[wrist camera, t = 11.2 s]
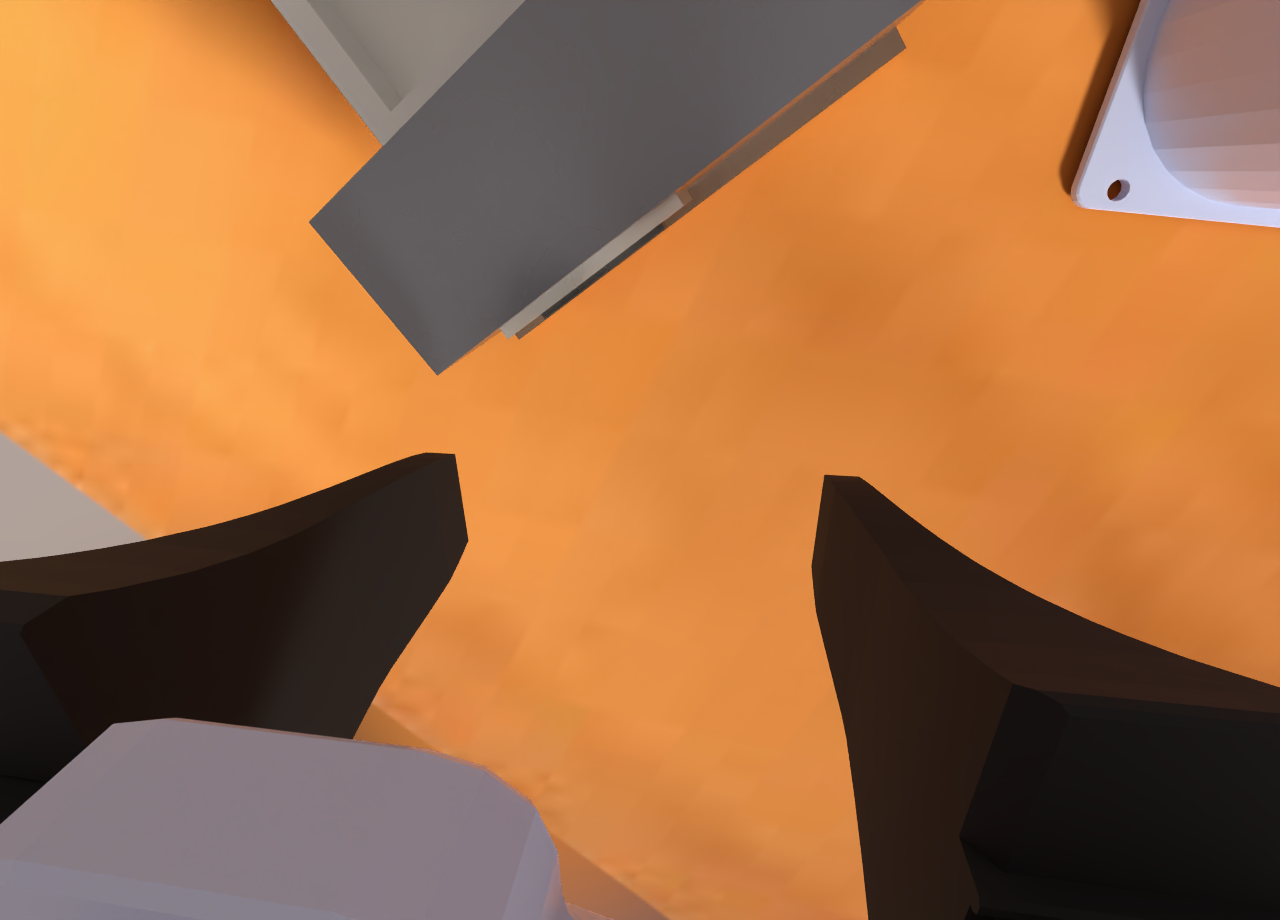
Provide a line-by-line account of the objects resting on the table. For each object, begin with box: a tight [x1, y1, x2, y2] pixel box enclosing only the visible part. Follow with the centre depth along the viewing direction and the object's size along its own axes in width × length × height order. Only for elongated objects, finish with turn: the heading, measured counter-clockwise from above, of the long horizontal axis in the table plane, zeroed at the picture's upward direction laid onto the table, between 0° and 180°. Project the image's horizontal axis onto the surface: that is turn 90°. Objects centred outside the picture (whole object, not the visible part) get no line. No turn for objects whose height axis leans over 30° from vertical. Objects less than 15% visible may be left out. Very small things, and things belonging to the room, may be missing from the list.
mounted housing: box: [309, 0, 925, 375], centre depth 14 cm, size 13×5×7 cm, turn 126°
